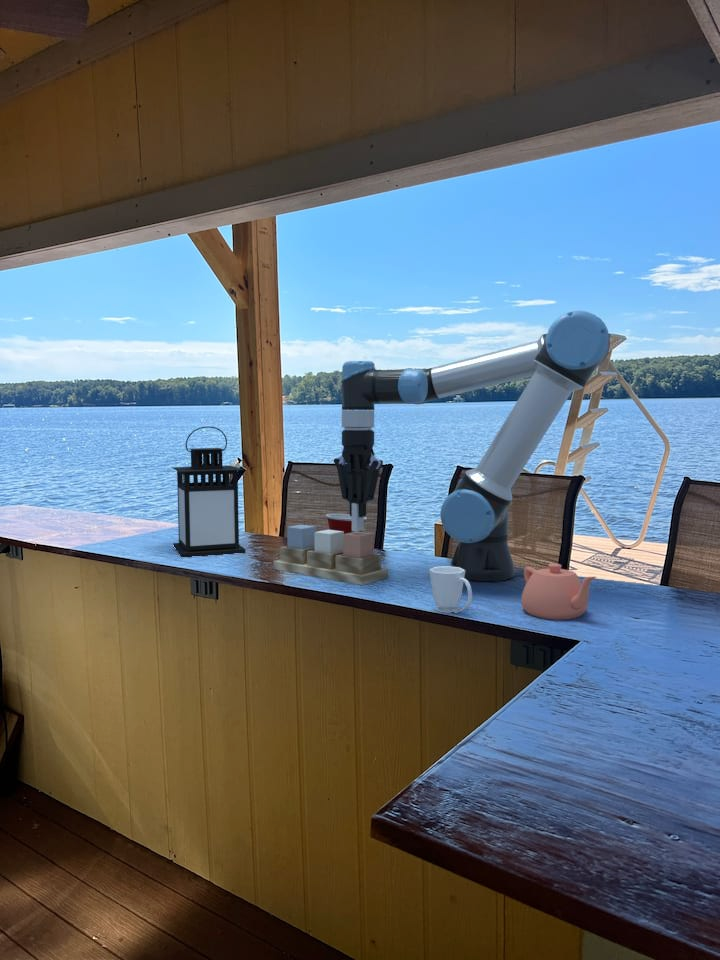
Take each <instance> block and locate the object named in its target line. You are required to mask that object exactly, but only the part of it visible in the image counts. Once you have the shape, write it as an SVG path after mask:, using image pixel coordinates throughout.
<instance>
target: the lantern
mask: <svg viewBox="0 0 720 960" xmlns="http://www.w3.org/2000/svg"><path fill="white" fill-rule="evenodd" d="M207 428H208V429H214V430H215V429H216V430H218V431H219V432H220V433H222V435H223V436H224V437H223V438H224V439H225V446H224V447H223V448H220V447H209V448H208V447H205V448H202V447H201V448H199V447H198V448H188V440H189V439H190V437H191V436H192V434H193V433H195V432H196V431H199V430H201V429H207ZM227 446H228V439H227V436H226V435H225V433H224V432H223V430H221V429H220V428H217V427H215V426H202V427H198V428H196V429H194V430H193V431H191V432H190V433H189V434H188V436H187V437H186V441H185V449H186V451H187V452H189V453H190V466H176V467H175V466H173V467H170V468H171V469H173V470H175V471H176V478H177V479H176V480H177V482H176V483H177V487H176V488H177V518H178V519H177V522H178V524H177V525H178V526H177V527H178V542H173V543H172V546H173V545H174V547H175V548H176V550H177V551H178V553H179V554H180V555H179V554H178V553H177V554H178V555H179V556H180V557H188V558H193V557H192V556H202V557H209V556H208V555H215V556H224V555H223V554H229V555H235V554H234V553H243V554H246V548H245V547H243V546H241V544H240V533H239V532H240V531H239V530H240V528H239V526H240V525H239V521H240V520H239V479H238V477H239V473H238V472H239V471H244V469H243V468H239V467H236V466H234V465H223V452H224V451H225V450H226V449H227ZM190 476H192V477H193V479H192V480H193V482H191V477H190ZM199 476H200V481H199ZM206 476H207V478H206ZM214 476H215V477H214ZM206 479H207V480H206ZM214 479H215V480H214ZM174 547H173V548H174ZM176 550H175V551H176ZM177 551H176V552H177Z"/></svg>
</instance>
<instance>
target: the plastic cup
mask: <svg viewBox="0 0 720 960" xmlns="http://www.w3.org/2000/svg"><path fill="white" fill-rule="evenodd" d="M325 516H326V518H327V524H328V528H329V530H336V531H344V534H347V533H352V532H355V531H352V516H350V513H349V514H347V513H328V514H327V513H326V515H325ZM367 519H368V517H367V516H366V517H364V523H365V522H366V521H367ZM358 532H363V531H358Z"/></svg>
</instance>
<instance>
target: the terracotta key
mask: <svg viewBox="0 0 720 960" xmlns="http://www.w3.org/2000/svg"><path fill="white" fill-rule="evenodd" d="M373 553H374V533H372V532H364V531H362V532H352V533H347V534H343V556H347V557H353V558H360V559H361V558H365V557H369V556H373V555H374V554H375V553H374V554H373Z"/></svg>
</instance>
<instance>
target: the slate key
mask: <svg viewBox="0 0 720 960" xmlns="http://www.w3.org/2000/svg"><path fill="white" fill-rule="evenodd" d="M286 529H287V530H286V531H287V534H286V535H287V536H286V537H287V539H286V541H287V546H288V548H294V549H301V550H304V549H308V548H313V547H315V538H314V532H317V526H315V525H306V524H297V525H291V526H287V527H286Z"/></svg>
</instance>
